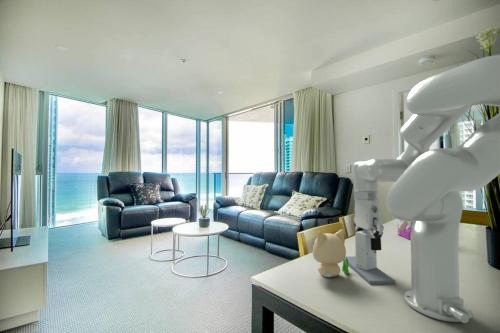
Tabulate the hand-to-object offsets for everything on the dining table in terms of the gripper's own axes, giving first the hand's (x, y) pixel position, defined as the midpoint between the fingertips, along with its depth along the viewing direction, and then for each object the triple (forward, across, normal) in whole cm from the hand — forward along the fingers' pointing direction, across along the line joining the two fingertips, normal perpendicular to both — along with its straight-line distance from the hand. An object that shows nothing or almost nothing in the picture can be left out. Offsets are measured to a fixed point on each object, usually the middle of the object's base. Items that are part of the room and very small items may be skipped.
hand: (367, 245), depth 79 cm
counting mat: (+9, +1, +1) cm, 9 cm away
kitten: (+9, -2, +14) cm, 17 cm away
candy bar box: (+8, +39, -43) cm, 59 cm away
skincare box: (+8, +1, 0) cm, 8 cm away
